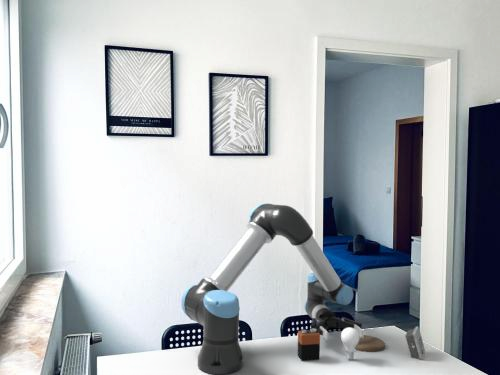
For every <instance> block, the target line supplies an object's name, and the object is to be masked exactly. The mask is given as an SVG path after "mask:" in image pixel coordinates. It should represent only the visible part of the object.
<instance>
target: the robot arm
mask: <svg viewBox="0 0 500 375" xmlns="http://www.w3.org/2000/svg"><path fill="white" fill-rule="evenodd" d="M248 221H249V222H248V223H247V224H246V226H247V230H246V231H245V232H244V233H243V235H242V236H241V237H240V239H239V240H237V242H236V244H235V245H234V246H233V247H232V248H231V250H230V251H229V252H228V254H227V255H226V256H225V257H224V258H223V259H222V261H221V262H220V263H219V265H218V266H217V267H215V269H214V270H213V272H212V273H211V274H210V276H208V277H207V276H206V277H202V278H201V279H200V281H199V282H198V283H197V284H195V285H191V286H189V287H188V288H186V290H185V291H184V292H183V294H182V298H181V309H182V311H183V313H184V315H186V316H187V317H188V318H189V319H190V320H191V321H194V322H195V323H198V324H199V325H201V326H202V327H203V332H202V333H203V338H202V339H203V341H202V345H201V347H200V352H199V354H198V356H197V367H198V369H199V370H201V371H202V372H204V373H207V374H211V375H229V374H233V373H236V372H238V371H240V370H241V369H243V367H244V355H243V353H242V349H241V348H242V347H241V345H240V341H239V335H240V334H239V330H240V326H239V324H240V300H239V297H238V296H237V295H236V294H235V293H233V292H232V291H229V290H230V289H231V287H232V286H234V284H235V283H236V282H237V280H238V279H239V278H240V276H241V275H242V274H243V272H244V271H245V270H246V269H247V267H248V266H249V264H250V263H251V262H252V261H253V259H254V258H255V257H256V256H257V254H258V253H259V252H260V251H261V249H262V248H263V246H264V245H265V244H270V243H272V241H273V240H274V239H275V238H276V236H281V237H284V238H285V239H287V240H288V242H289V243H290V244H291V245H292V246H293V247H296V249H297V251H298V252H299V253H300V255H301V257H302V258H303V259H304V260H305V263H307V265H308V267H309V268H310V270H311V271H312V272H311V273H309V274H308V275H307V298H306V301H305V302H304V305H303V307H304V311H305V312H306V314H307V315H308V316H309V317H310V318H311V319H312V321H311V325H310V329H312V328H314V329H316V330H317V332H318V333H319V334H320V336H321V337H323V339H325V340H326V341H328V340H329V331H327V330H328V329H331V328H335V329H336V328H337V329H345V328H348V327H351V328H354V329H355V330H357V332H358V333H359V336H360V337H361V338H363V337H364V335H365V334H364V333H365V330H364V329H363V328H362V326H363V325H362V323H361V322H358V321H355V320H352V319H349V318H347V317H345V316H342V317H341V318H340V317H337V316H336V314H335V313H334V312H333V311H332V310H331V309H330V308H329V307H327V305H326V304H325V302H326V301H325V300H327V301H331V302H332V303H336V304H338V305H344V306H348V305H349V304H351V302H352V301H353V298H354V291H353V288H351V287H350V286H349V285H345V284H344V283H343V281H341V279H340V277H339V275H338V274H337V273H336V271H335V269H334V268H333V266H332V264H331V263H330V261H329V259H328V258H327V257H326V255H325V253H324V252H323V250H322V249H321V247H320V245H319V244H318V241H317V240H316V239H315V237H314V231H313V229H312V227H311V226H310V224H309V223H308V221H307V220H306V219H305V217H304V216H303V215H302V214H301V213H300V212H299V211H297V210H296V209H295V208H294V207H291V206H290V205H287V204H286V205H284V204H283V205H282V204H273V203H261V204H258V205H256V206H255V207H254V208H252V210H251V212H250V213H249V220H248Z"/></svg>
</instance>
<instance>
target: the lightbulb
mask: <svg viewBox="0 0 500 375" xmlns="http://www.w3.org/2000/svg"><path fill="white" fill-rule="evenodd" d="M340 339H341V341H342V344H343V346H344V349H345V359H347V360H349V361H351V360H352V361H353V359H354V356H355V355H354V353H355V351H356V350H355V347H356V345H357V344H358V342H359V339H360V336H359V333H358V332H357V330H355V329H354V328H351V327H348V328H343V330H342V331H341V333H340Z"/></svg>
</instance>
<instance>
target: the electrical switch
mask: <svg viewBox="0 0 500 375" xmlns="http://www.w3.org/2000/svg"><path fill="white" fill-rule="evenodd" d="M419 327H420V326H415V327H414V328H413V329H408V330H407V332H406V333H405V339H406V343H407V346H408V351H409V353H410V354H409V355H410V358H411V359H413V358H415V359H417V358H419V360H420V361H422V360H424V356H425V354H426V349H425V345H424V342H423V341H424V340H423V337H422V334H421V330H420V328H419Z"/></svg>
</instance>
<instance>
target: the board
mask: <svg viewBox="0 0 500 375" xmlns="http://www.w3.org/2000/svg"><path fill="white" fill-rule="evenodd" d="M355 349H356V350H355V351H358V350H359V351H360V352H364V351H365V352H367V353H377V351H378V352H381V351H384V350H385V349H386V342H385V341H384V340H383V339H382V338H379V337H376V336H373V335H368V334H364V337H363V338H361V337H360V339H359V342H358V344H357V345H356V347H355ZM359 351H358V352H359Z"/></svg>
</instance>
